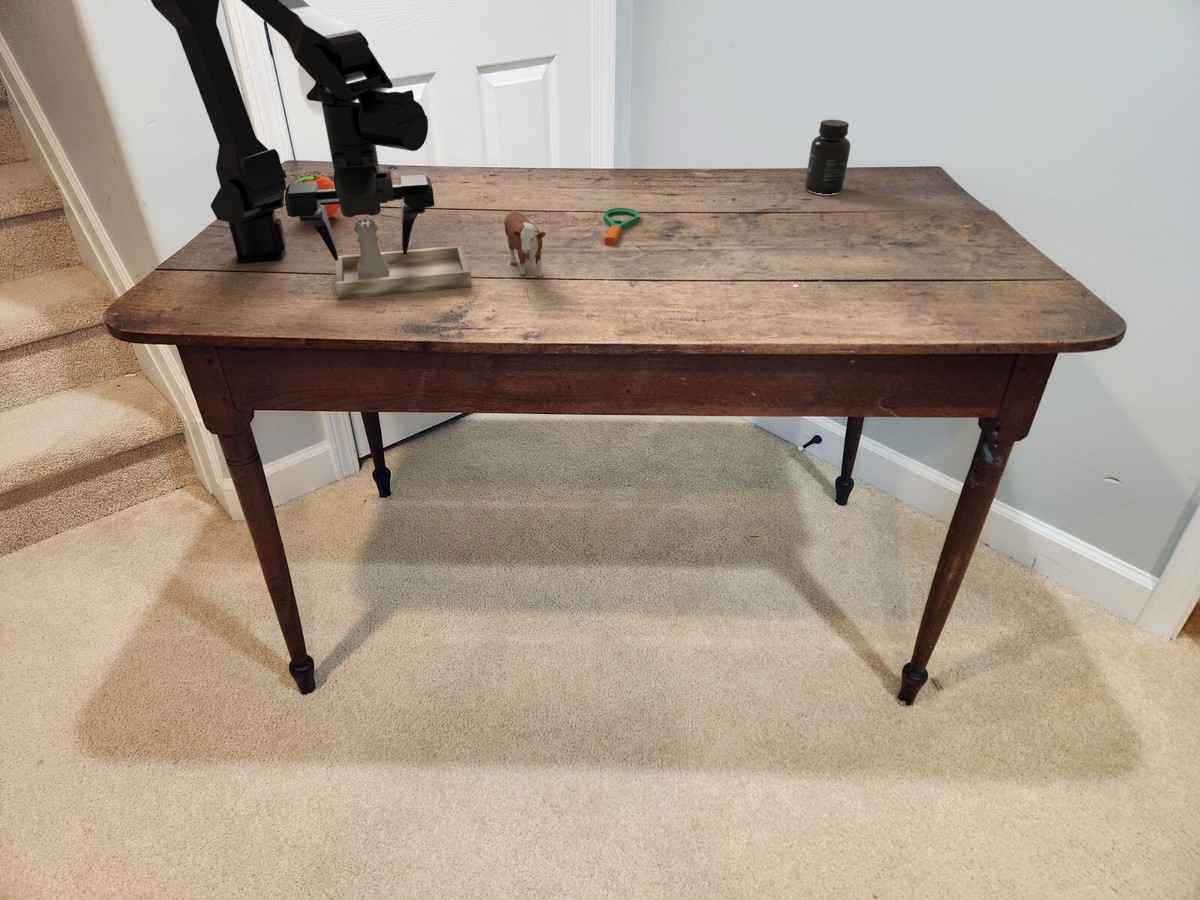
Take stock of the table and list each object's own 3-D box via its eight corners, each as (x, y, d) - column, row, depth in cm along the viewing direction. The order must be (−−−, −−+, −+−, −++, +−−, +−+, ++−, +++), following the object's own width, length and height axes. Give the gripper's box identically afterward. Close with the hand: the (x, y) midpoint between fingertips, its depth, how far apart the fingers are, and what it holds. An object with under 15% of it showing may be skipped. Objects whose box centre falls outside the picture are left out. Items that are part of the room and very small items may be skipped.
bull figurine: (520, 290, 110) (517, 233, 105) (503, 254, 120) (500, 201, 116) (551, 287, 111) (549, 231, 106) (531, 252, 121) (529, 199, 117)
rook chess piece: (387, 283, 110) (378, 227, 105) (354, 283, 110) (344, 227, 105) (393, 270, 114) (384, 215, 109) (361, 270, 113) (352, 215, 109)
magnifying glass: (607, 213, 137) (607, 203, 136) (641, 216, 136) (642, 206, 135) (591, 246, 125) (591, 235, 124) (628, 249, 124) (629, 238, 123)
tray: (338, 299, 107) (335, 284, 106) (339, 270, 115) (336, 255, 114) (471, 286, 111) (470, 271, 109) (463, 259, 119) (462, 245, 117)
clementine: (293, 227, 129) (284, 183, 124) (294, 213, 134) (285, 171, 130) (344, 223, 130) (336, 180, 126) (343, 209, 136) (335, 167, 132)
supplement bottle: (800, 184, 150) (811, 117, 143) (837, 185, 150) (849, 118, 143) (808, 196, 144) (819, 127, 137) (845, 196, 144) (859, 127, 137)
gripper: (269, 162, 93) (297, 286, 102) (430, 153, 96) (444, 273, 106) (276, 137, 101) (302, 254, 110) (424, 130, 105) (437, 243, 114)
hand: (371, 256), depth 110 cm, fingers open, 9 cm apart
